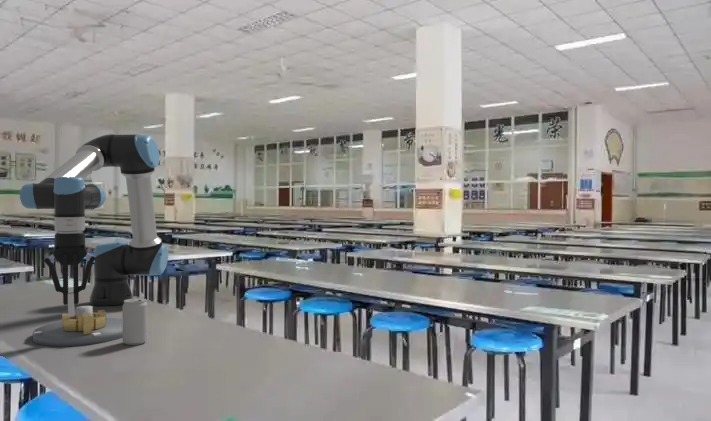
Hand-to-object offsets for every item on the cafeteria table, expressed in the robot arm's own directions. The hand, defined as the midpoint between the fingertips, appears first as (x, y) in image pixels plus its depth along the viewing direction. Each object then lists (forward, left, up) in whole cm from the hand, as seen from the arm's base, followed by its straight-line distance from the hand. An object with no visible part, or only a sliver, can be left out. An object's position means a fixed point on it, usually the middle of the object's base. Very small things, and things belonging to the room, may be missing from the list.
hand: (71, 315), depth 152 cm
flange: (-5, -5, -7) cm, 10 cm away
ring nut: (-4, -3, -5) cm, 7 cm away
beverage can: (-13, +14, -7) cm, 20 cm away
